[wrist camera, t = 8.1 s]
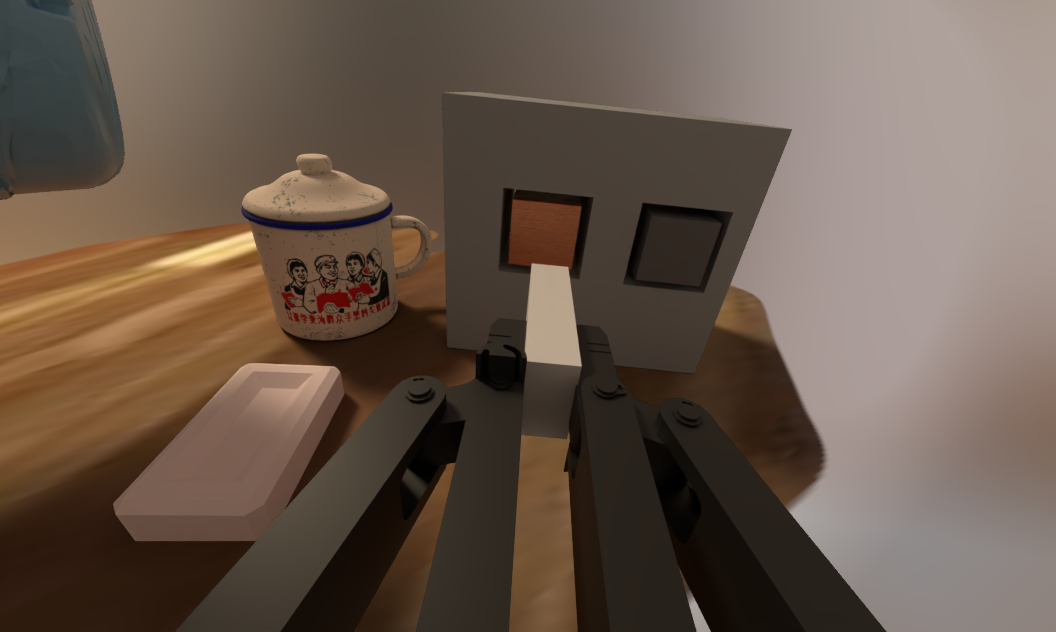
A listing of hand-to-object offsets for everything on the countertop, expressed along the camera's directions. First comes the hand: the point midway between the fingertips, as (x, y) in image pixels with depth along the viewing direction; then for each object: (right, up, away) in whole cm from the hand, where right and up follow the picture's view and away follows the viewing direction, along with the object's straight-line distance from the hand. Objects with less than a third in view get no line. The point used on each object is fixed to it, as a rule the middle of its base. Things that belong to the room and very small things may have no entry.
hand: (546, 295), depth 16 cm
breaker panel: (+3, -2, +16) cm, 16 cm away
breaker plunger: (0, +5, +12) cm, 13 cm away
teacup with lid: (-14, -1, +15) cm, 21 cm away
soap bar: (-14, -8, +3) cm, 17 cm away
